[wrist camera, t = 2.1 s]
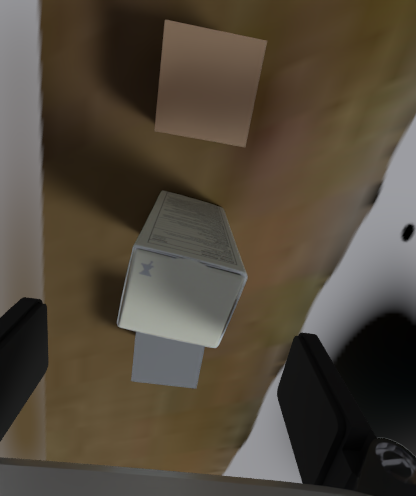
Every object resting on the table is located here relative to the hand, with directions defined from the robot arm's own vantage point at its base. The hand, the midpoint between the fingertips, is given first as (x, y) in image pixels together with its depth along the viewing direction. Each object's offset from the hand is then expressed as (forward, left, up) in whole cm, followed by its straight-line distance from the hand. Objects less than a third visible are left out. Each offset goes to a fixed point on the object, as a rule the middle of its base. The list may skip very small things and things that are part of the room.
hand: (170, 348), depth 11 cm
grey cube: (+8, 0, -13) cm, 16 cm away
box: (-1, 0, -13) cm, 13 cm away
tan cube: (-10, 0, -13) cm, 16 cm away
